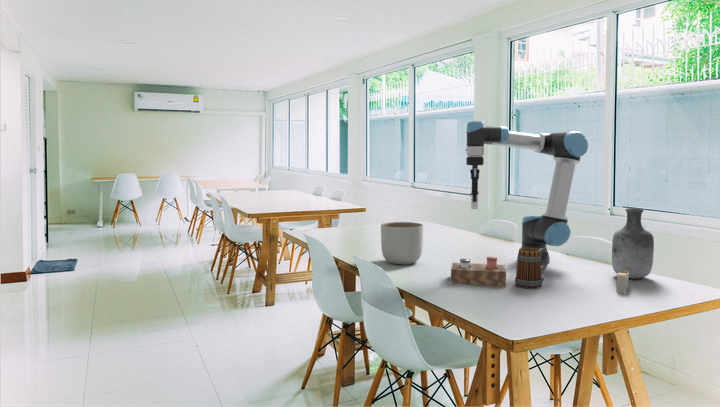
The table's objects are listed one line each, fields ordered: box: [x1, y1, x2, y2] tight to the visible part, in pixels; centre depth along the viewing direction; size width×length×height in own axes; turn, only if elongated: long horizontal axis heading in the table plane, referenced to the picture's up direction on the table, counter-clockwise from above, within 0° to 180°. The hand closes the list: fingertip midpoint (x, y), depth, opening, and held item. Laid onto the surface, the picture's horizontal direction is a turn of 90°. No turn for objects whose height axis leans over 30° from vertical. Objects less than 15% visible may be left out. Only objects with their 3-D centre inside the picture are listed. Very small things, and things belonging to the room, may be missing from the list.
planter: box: [380, 221, 424, 265], centre depth 261 cm, size 21×21×19 cm
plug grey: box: [459, 258, 471, 268], centre depth 224 cm, size 4×4×9 cm
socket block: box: [450, 262, 507, 287], centre depth 223 cm, size 22×14×6 cm, turn 77°
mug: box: [514, 247, 550, 290], centre depth 216 cm, size 16×11×15 cm
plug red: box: [486, 256, 498, 269], centre depth 222 cm, size 4×4×9 cm
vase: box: [611, 207, 655, 280], centre depth 228 cm, size 16×16×30 cm
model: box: [615, 270, 630, 294], centre depth 209 cm, size 3×11×8 cm, turn 148°
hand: (474, 208), depth 237 cm, fingers closed
